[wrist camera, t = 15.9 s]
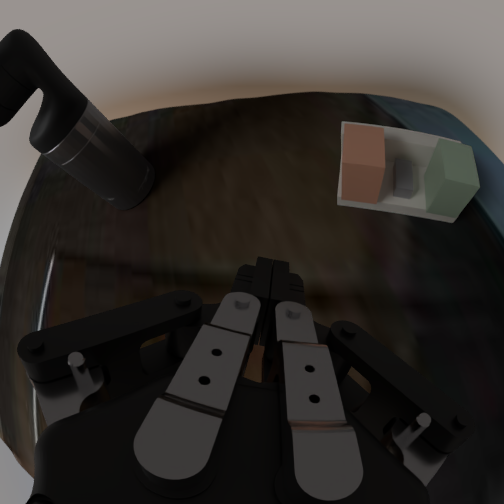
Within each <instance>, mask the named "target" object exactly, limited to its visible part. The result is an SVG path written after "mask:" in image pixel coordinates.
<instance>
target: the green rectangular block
mask: <svg viewBox="0 0 504 504" xmlns="http://www.w3.org/2000/svg"><path fill="white" fill-rule="evenodd" d="M424 183H425V199H426V213H432V214H437V215H442V216H447V217H452V218H456V217H457V216H458V215H459V214H460V213H461V211H462V210H463V209H464V208H465V206H466V205H467V204H468V203H469V201H470V200H471V199H472V197H473V196H474V195H475V193H476V192H477V191H478V189H479V188H480V184H479V178H478V173H477V168H476V163H475V159H474V155H473V151H472V147H471V146H468V145H464V144H461V143H457V142H453V141H449V140H445V139H440V138H439V139H438V142H437V145H436V147H435V150H434V152H433V155H432V157H431V160H430V162H429V165H428V167H427V169H426V172H425V174H424Z"/></svg>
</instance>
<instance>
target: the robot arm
mask: <svg viewBox="0 0 504 504" xmlns="http://www.w3.org/2000/svg"><path fill="white" fill-rule="evenodd" d="M38 88H40V89H41V90H42V91H43V94H44V95H43V101H42V105H41V108H40V110H39V113H38V115H37V117H36V120H35V122H34V124H33V126H32V129H31V132H30V137H29V141H30V143H31V145H32V146H33V147H34V148H35V149H37V150H38V151H39V152H40V153H42V154H43V155H45V156H46V157H47V158H48V159H50V160H51V161H52V162H54V163H55V164H57V165H58V166H59V167H61V168H62V169H63V170H65V171H66V172H67V173H69V174H70V175H71V176H73V177H74V178H75V179H77V180H78V181H80V182H81V183H82V184H84V185H85V186H86V187H88V188H89V189H91V190H92V191H93V192H95V193H96V194H98V195H99V196H100V197H102V198H103V199H104V200H106V201H107V202H109V203H110V204H112V205H113V206H114V207H116V208H117V209H120V210H127V209H130V208H132V207H134V206H136V205H137V204H139V203H140V202H141V201H142V200H143V199H144V198H145V197H146V196H147V194H148V193H149V191H150V189H151V187H152V185H153V182H154V179H155V170H154V168H153V166H152V165H151V164H150V163H149V162H148V161H147V160H146V159H145V158H144V157H143V156H142V155H141V153H140V152H139V151H138V150H137V149H136V148H135V147H134V146H133V145H132V144H131V143H130V142H129V141H128V140H127V139H126V138H125V137H124V136H123V135H122V134H121V133H120V132H119V131H118V130H117V129H116V128H115V127H114V126H113V125H112V123H111V122H110V121H109V120H108V119H107V118H106V117H105V116H104V115H103V114H102V113H101V112H100V111H99V110H98V109H97V108H96V107H95V106H94V105H93V104H92V103H91V102H90V101H89V100H88V99H87V98H86V97H85V96H84V95H83V94H82V93H81V92H80V91H79V90H78V89H77V88H76V87H75V86H74V85H73V83H72V82H70V80H69V79H68V78H67V77H66V76H65V75H64V74H63V73H62V72H61V71H60V69H59V68H58V67H57V66H56V65H55V63H54V62H53V61H52V60H51V58H50V57H49V56H48V55H47V53H46V52H45V51H44V50H43V48H42V47H41V46H40V45H39V44H38V42H37V41H36V40H35V39H34V38H33V37H32V36H31V35H30V34H29V33H27V32H25V31H23V30H20V29H16V30H12V31H11V32H10V33H9V34H7V35H6V36H5V37H4V38H3V39H2V40H1V42H0V127H1V126H3V125H5V124H7V123H8V122H9V121H10V120H11V119H12V118H13V117H14V116H15V114H16V113H17V112H18V111H19V109H20V108H21V107H22V106H23V105H24V103H25V102H26V101H27V100H28V99H29V98H30V96H31V95H32V94H33V93H34V92H35V91H36V89H38ZM272 262H273V266H272ZM260 333H261V336H260ZM163 334H165V340H162V341H159V342H157V343H154V344H152V345H149V346H146V347H144V348H141V349H140V347H141V345H142V344H143V343H144V342H145V341H147V340H149V339H152V338H155V337H157V336H160V335H163ZM259 337H260V344H259V345H261V346H265V350H264V354H263V358H262V383H258V382H255V381H252V380H249V379H247V378H244V377H243V376H244V373H245V370H246V366H247V363H248V360H249V356H250V353H251V352H252V350H253V345H254V344H255V345H258V341H259ZM17 352H18V355H19V357H20V359H21V361H22V363H23V365H24V367H25V369H26V373H27V376H28V377H29V379H30V381H31V383H32V385H33V387H34V388H35V390H36V393H37V396H38V400H39V403H40V406H41V409H42V412H43V415H44V417H45V420H46V423H47V425H48V427H47V428H46V429H45V430H44V431H43V432H42V433H41V435H40V437H39V439H38V441H37V443H36V447H35V453H34V460H35V477H34V485H33V490H32V494H31V496H30V498H29V500H28V501H27V503H26V504H430V498H429V494H428V491H427V489H426V485H427V484H428V483H429V481H430V480H431V479H432V477H433V476H434V475H435V473H436V472H437V470H438V469H439V468H440V466H441V465H442V463H443V462H444V460H445V459H446V458H447V457H448V456H449V455H450V454H451V453H453V452H454V451H455V450H456V449H457V448H458V447H459V446H461V445H462V444H463V443H464V442H465V441H466V440H467V439H468V438H469V437H470V436H471V435H472V434H473V433H474V430H475V423H474V420H473V418H472V416H471V415H470V413H469V412H468V411H466V410H465V409H464V408H463V407H461V406H460V405H459V404H458V403H456V402H455V401H454V400H453V399H451V398H450V397H449V396H447V395H446V394H445V393H444V392H442V391H441V390H440V389H439V388H437V387H436V386H435V385H433V384H432V383H431V382H430V381H428V380H427V379H426V378H425V377H423V376H422V375H421V374H419V373H418V372H417V371H416V370H414V369H413V368H412V367H411V366H409V365H408V364H407V363H405V362H404V361H403V360H402V359H400V358H399V357H398V356H396V355H395V354H394V353H393V352H391V351H390V350H389V349H387V348H386V347H385V346H384V345H382V344H381V343H380V342H378V341H377V340H376V339H375V338H373V337H372V336H371V335H369V334H368V333H367V332H366V331H364V330H363V329H362V328H360V327H359V326H358V325H356V324H354V323H352V322H348V321H336V322H334V323H333V324H332V325H331V328H329V327H326V326H323V325H321V324H318V323H316V322H315V321H313V319H312V315H311V312H310V310H309V309H308V308H307V307H306V306H305V296H304V288H303V280H302V279H301V278H300V276H299V275H298V274H293V273H289V262H284V261H279V260H274V261H273V259H268V258H263V257H258V258H257V262H256V266H251V265H246V264H245V265H243V266H242V267H240V268H239V269H238V272H237V275H236V278H235V281H234V284H233V286H232V289H231V292H230V293H229V294H227V295H226V296H225V297H224V299H223V301H222V302H221V303H218V304H202V299H201V298H200V297H199V296H198V295H197V294H195V293H193V292H190V291H185V290H178V291H173V292H170V293H166V294H163V295H160V296H156V297H153V298H150V299H146V300H143V301H140V302H136V303H133V304H130V305H126V306H123V307H120V308H116V309H113V310H109V311H106V312H103V313H99V314H96V315H92V316H89V317H85V318H82V319H78V320H75V321H71V322H68V323H64V324H61V325H57V326H54V327H50V328H47V329H43V330H39V331H36V332H32V333H30V334H28V335H26V336H24V337H23V338H22V339H21V341H20V342H19V344H18V347H17ZM351 366H352V367H353V368H354V369H355V370H357V371H358V372H359V373H360V374H361V375H362V376H364V377H365V378H366V379H367V380H368V381H369V382H370V384H371V392H370V394H369V393H368V392H367V391H366V390H364V389H363V388H362V387H361V386H360V385H359V384H358V383H357V382H356V381H354V380H353V379H352V378H351V377H350V376H349V375H348V374H347V373H348V372H349V370H350V368H351Z"/></svg>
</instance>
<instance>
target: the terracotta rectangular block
mask: <svg viewBox="0 0 504 504" xmlns="http://www.w3.org/2000/svg"><path fill="white" fill-rule="evenodd" d="M384 171H385V142H384V128H380V127H373V126H365V125H356V124H344V140H343V154H342V195H341V200H348V201H356V202H363V203H371V204H377V200H378V196H379V192H380V188H381V184H382V180H383V176H384Z"/></svg>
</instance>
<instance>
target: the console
mask: <svg viewBox="0 0 504 504" xmlns="http://www.w3.org/2000/svg"><path fill="white" fill-rule="evenodd" d="M344 124H356V125H365V126H373V127H380V128H384V142H385V171H384V176H383V180H382V184H381V188H380V192H379V196H378V200H377V204H371V203H363V202H356V201H348V200H341V195H342V154H343V140H344ZM439 138H440V139H445V140H449V141H453V142H457V143H461V142H460V141H456V140H453V139H448V138H444V137H440V136H436V135H431V134H426V133H421V132H416V131H411V130H405V129H399V128H393V127H386V126H379V125H372V124H363V123H354V122H344V121H342V126H341V166H340V177H339V186H338V195H337V205H343V206H351V207H358V208H365V209H372V210H379V211H386V212H392V213H399V214H405V215H411V216H417V217H423V218H428V219H434V220H439V221H444V222H450V223H453V222H454V221H455V220H456V219H457V217H458V216H457V217H456V218H452V217H447V216H442V215H437V214H432V213H426V199H425V183H424V174H425V172H426V169H427V167H428V165H429V162H430V160H431V157H432V155H433V152H434V150H435V147H436V145H437V142H438V139H439Z"/></svg>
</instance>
